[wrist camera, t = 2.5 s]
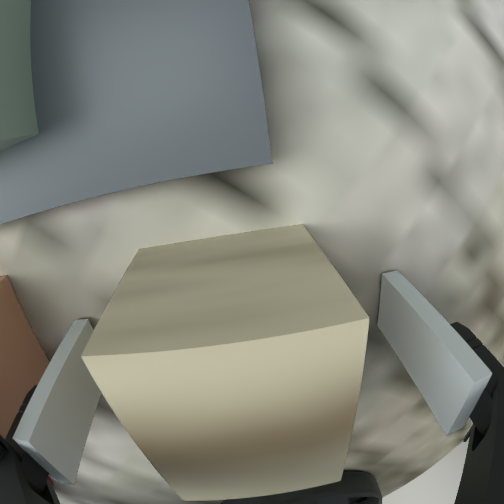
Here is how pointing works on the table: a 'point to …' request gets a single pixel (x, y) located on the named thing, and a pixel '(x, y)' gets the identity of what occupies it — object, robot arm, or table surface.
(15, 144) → the baseplate
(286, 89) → the table surface
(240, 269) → the maple brick
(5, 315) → the terracotta brick
